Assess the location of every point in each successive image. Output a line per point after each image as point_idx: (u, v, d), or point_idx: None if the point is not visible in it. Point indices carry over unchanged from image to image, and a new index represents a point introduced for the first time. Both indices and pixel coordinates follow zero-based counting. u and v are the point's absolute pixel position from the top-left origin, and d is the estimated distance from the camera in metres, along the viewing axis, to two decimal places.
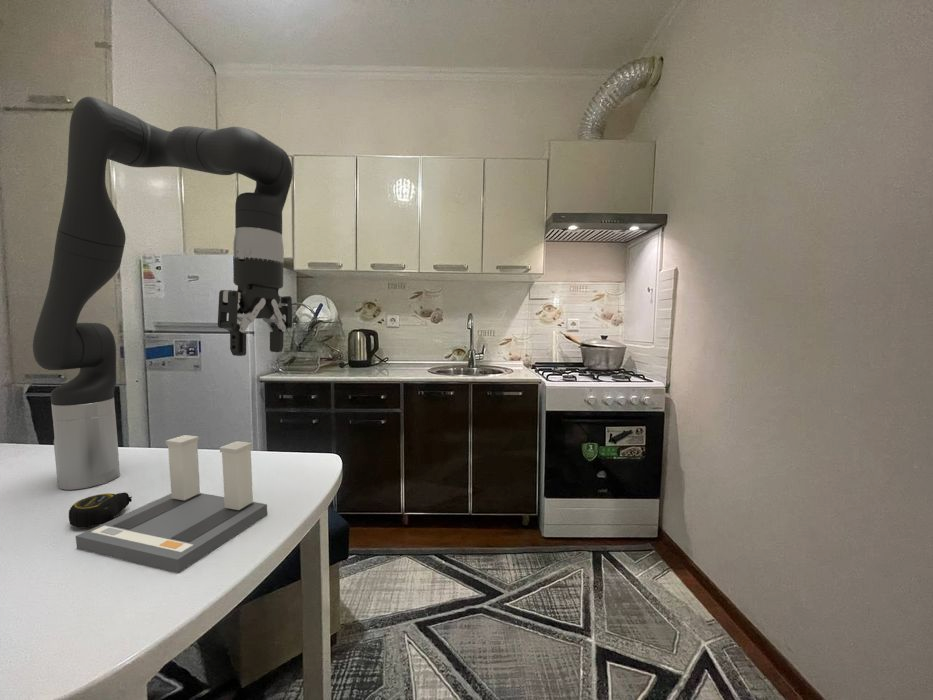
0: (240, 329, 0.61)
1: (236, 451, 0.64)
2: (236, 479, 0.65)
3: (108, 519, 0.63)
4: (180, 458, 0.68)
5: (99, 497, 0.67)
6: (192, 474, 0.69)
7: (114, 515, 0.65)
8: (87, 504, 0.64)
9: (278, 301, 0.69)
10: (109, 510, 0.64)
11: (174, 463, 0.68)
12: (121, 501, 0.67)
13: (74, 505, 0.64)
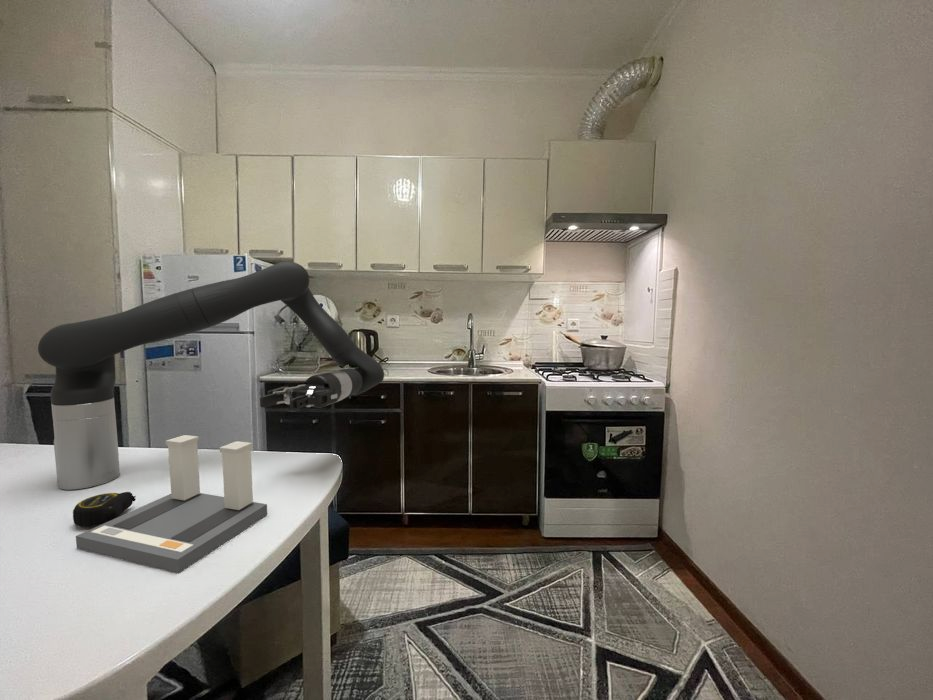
0: (310, 406, 0.78)
1: (236, 451, 0.64)
2: (236, 479, 0.65)
3: (112, 518, 0.64)
4: (180, 458, 0.68)
5: (103, 496, 0.67)
6: (192, 474, 0.69)
7: (118, 514, 0.65)
8: (91, 503, 0.64)
9: None
10: (113, 509, 0.64)
11: (174, 463, 0.68)
12: (125, 500, 0.67)
13: (78, 504, 0.64)
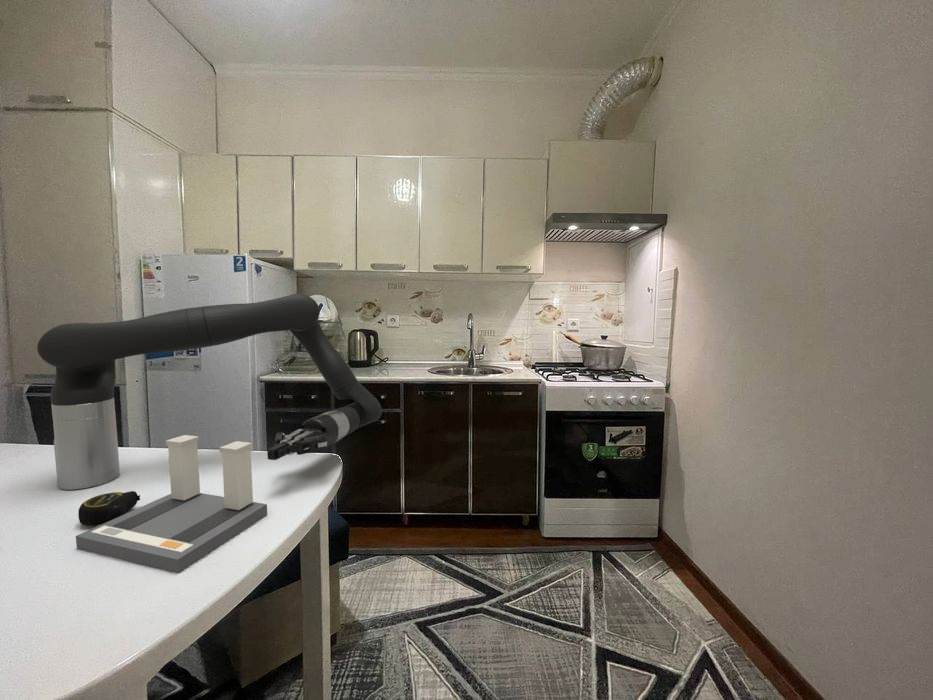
0: (292, 453, 0.78)
1: (236, 451, 0.64)
2: (236, 479, 0.65)
3: None
4: (180, 458, 0.68)
5: (108, 496, 0.67)
6: (192, 474, 0.69)
7: (123, 513, 0.65)
8: (96, 503, 0.65)
9: None
10: (118, 508, 0.64)
11: (174, 463, 0.68)
12: (130, 500, 0.68)
13: (84, 503, 0.64)
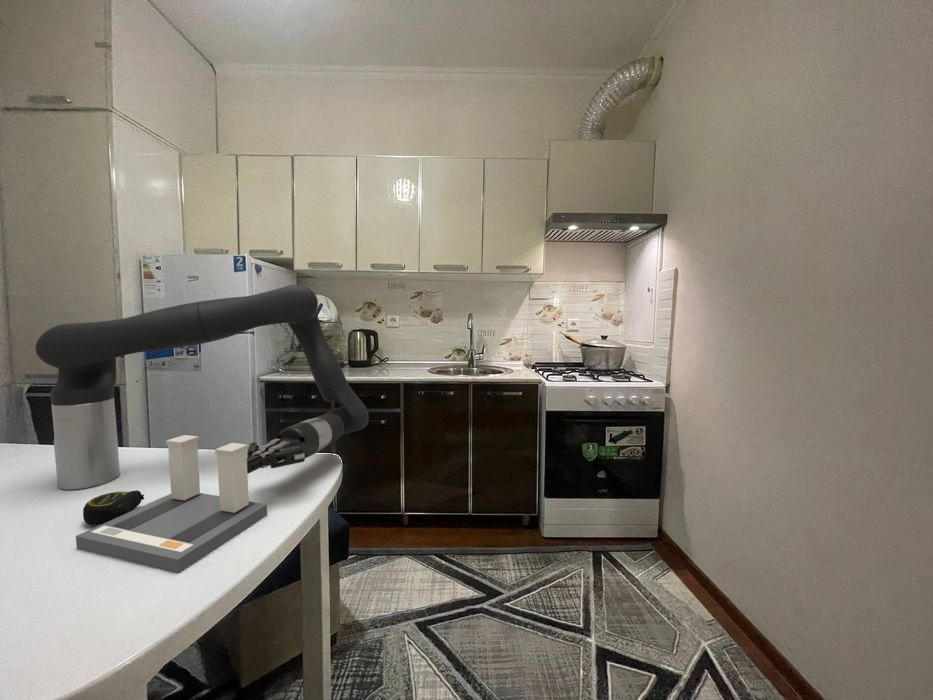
0: None
1: (231, 453, 0.63)
2: (231, 481, 0.64)
3: None
4: (180, 458, 0.68)
5: (112, 495, 0.68)
6: (192, 474, 0.69)
7: None
8: (101, 502, 0.65)
9: None
10: (123, 508, 0.64)
11: (174, 463, 0.68)
12: (134, 499, 0.68)
13: (88, 503, 0.64)
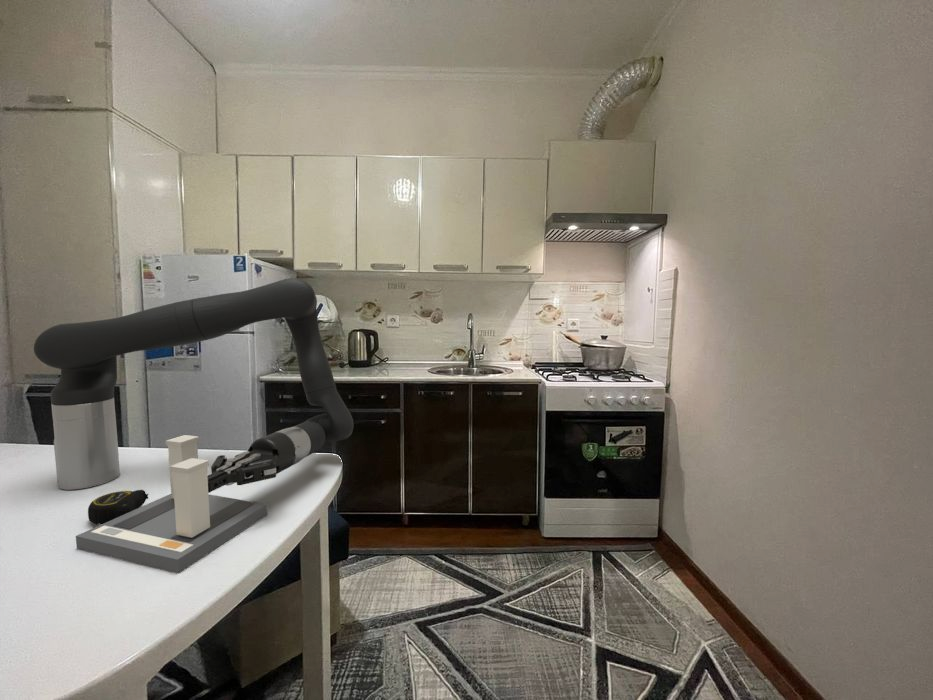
0: None
1: (188, 471, 0.56)
2: (188, 502, 0.57)
3: None
4: (180, 458, 0.68)
5: (117, 494, 0.68)
6: None
7: None
8: (105, 501, 0.65)
9: None
10: (127, 507, 0.65)
11: (174, 463, 0.68)
12: (138, 498, 0.68)
13: (93, 502, 0.65)
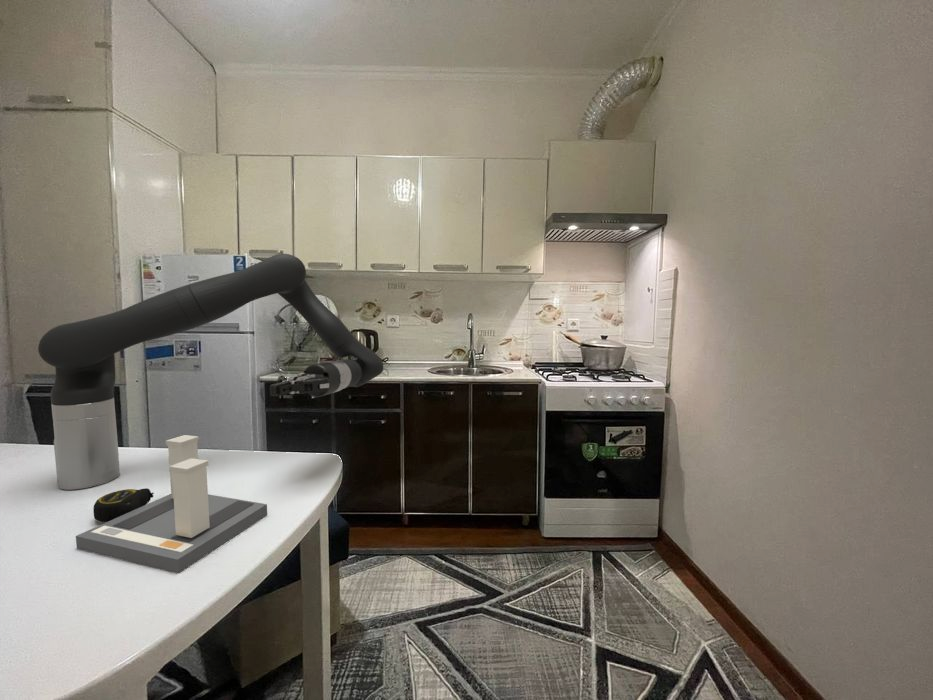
0: None
1: (187, 471, 0.56)
2: (188, 503, 0.56)
3: None
4: (180, 458, 0.68)
5: (122, 492, 0.68)
6: None
7: None
8: (110, 499, 0.66)
9: None
10: (131, 505, 0.65)
11: (174, 463, 0.68)
12: (143, 497, 0.69)
13: (99, 500, 0.65)
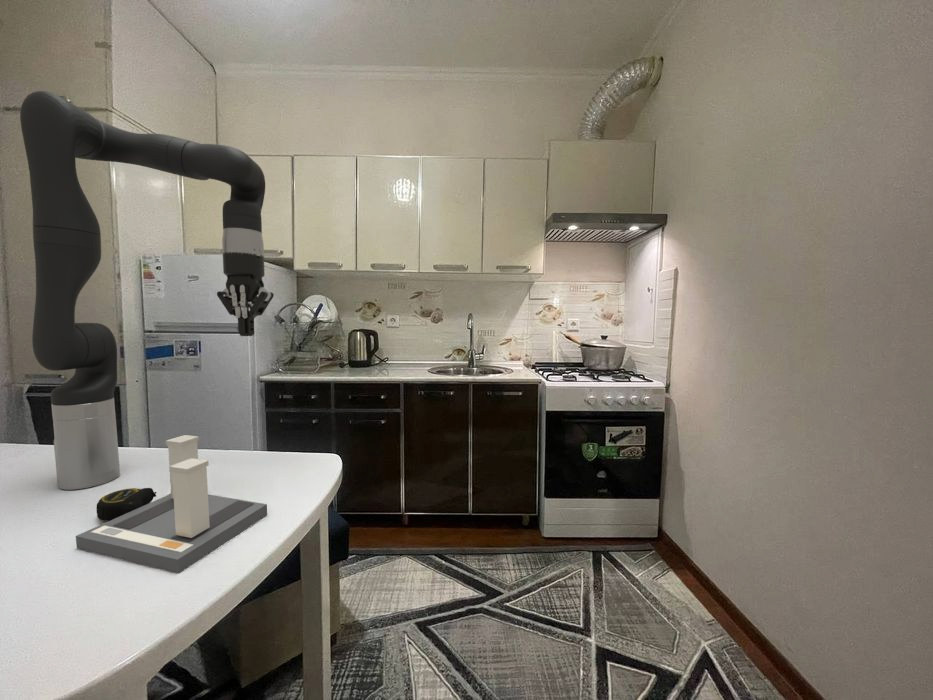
0: None
1: (187, 471, 0.56)
2: (188, 503, 0.56)
3: None
4: (180, 458, 0.68)
5: (125, 492, 0.69)
6: None
7: None
8: (113, 498, 0.66)
9: None
10: (133, 505, 0.65)
11: (174, 463, 0.68)
12: (145, 496, 0.69)
13: (102, 499, 0.66)
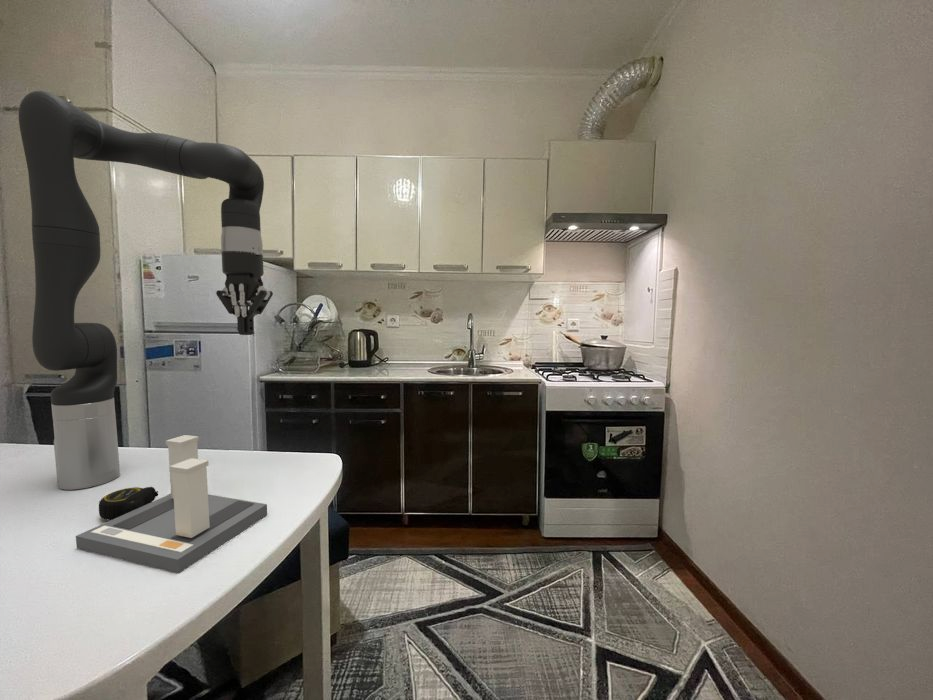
0: None
1: (187, 471, 0.56)
2: (188, 503, 0.56)
3: None
4: (180, 458, 0.68)
5: (128, 491, 0.69)
6: None
7: None
8: (115, 497, 0.67)
9: None
10: (135, 504, 0.66)
11: (174, 463, 0.68)
12: (147, 495, 0.69)
13: (104, 498, 0.66)
